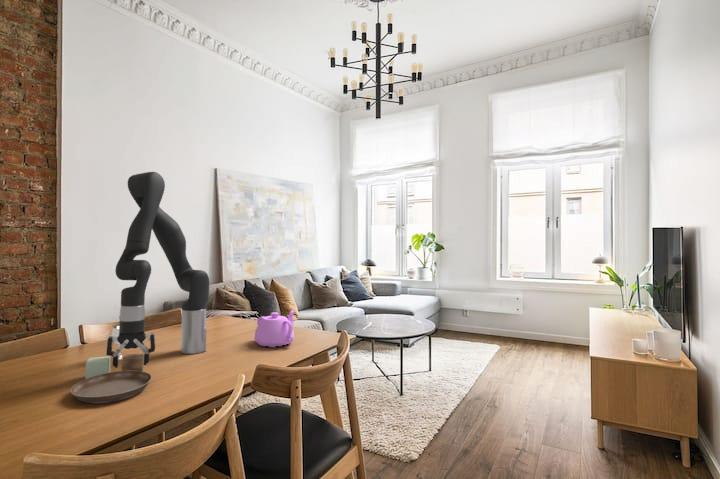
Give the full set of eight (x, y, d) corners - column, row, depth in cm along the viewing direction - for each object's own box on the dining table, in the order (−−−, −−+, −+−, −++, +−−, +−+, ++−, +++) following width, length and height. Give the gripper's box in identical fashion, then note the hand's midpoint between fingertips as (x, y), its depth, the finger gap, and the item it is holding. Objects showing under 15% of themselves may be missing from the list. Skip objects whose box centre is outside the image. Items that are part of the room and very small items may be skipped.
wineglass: (120, 361, 149) (120, 328, 149) (107, 359, 150) (107, 328, 150) (132, 356, 155) (132, 325, 155) (119, 355, 156) (119, 324, 156)
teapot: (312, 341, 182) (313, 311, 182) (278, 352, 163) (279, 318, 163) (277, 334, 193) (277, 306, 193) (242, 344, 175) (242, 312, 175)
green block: (110, 373, 136) (110, 356, 136) (107, 379, 130) (107, 361, 130) (89, 376, 133) (89, 358, 133) (85, 382, 128) (85, 363, 128)
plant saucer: (91, 413, 106) (92, 401, 106) (57, 396, 116) (57, 385, 116) (165, 389, 123) (165, 378, 123) (129, 376, 134) (129, 366, 134)
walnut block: (143, 369, 140) (143, 352, 140) (142, 375, 134) (142, 357, 134) (123, 372, 137) (123, 354, 137) (121, 377, 132) (121, 359, 132)
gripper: (156, 315, 142) (155, 360, 142) (109, 317, 136) (108, 364, 136) (155, 319, 135) (153, 367, 135) (106, 321, 130) (104, 371, 129)
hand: (131, 365), depth 136 cm, fingers open, 8 cm apart
